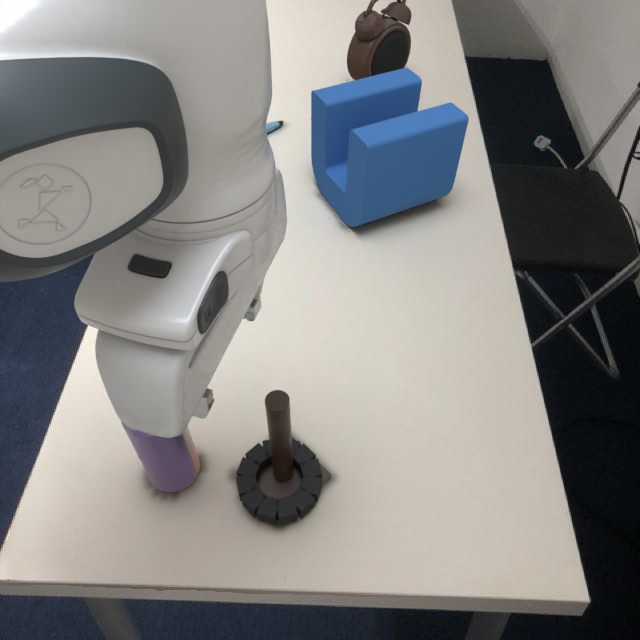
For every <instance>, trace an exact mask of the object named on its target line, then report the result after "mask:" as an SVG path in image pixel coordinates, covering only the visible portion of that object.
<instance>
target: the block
mask: <svg viewBox="0 0 640 640" xmlns="http://www.w3.org/2000/svg"><path fill="white" fill-rule="evenodd" d="M422 84H423V80H422V78H421V77H420V76H419V75H418V74H416V73H415V72H414V71H413V70H411V69H410V68H408V67H405V68H403V69H399V70H395V71H391V72H387V73H383V74H379V75H374V76H370V77H366V78H362V79H358V80H354V79H353V80H351V81H347V82H342V83H338V84H335V85H330V86H327V87H322V88H318V89H314V90H311V93H310V136H311V137H310V155H311V157H310V159H311V166H312V171H313V172H312V173H313V175H314V180H315V182H316V185H317V187H318V189H319V191H320V193H321V196H322V197H323V198H324V199H325V200H326V202H327V203H328V205H329V206H330V207H331V208H332V209H333V210H334V212H335V213H336V214H337V215H338V217H339V218H340V219H341V220H342V221H343V222H344V224H345V225H346V226H347V225H348V227H350V228H355V227H356V228H357V227H358V226H361V225H364V224H367V223H371V222H374V221H376V220H379V219H382V218H385V217H388V216H391V215H394V214H397V213H400V212H403V211H406V210H409V209H412V208H415V207H418V206H421V205H425V204H427V203H430V202H433V201H436V200H439V199H441V198H445V197H447V196H448V195H449V194H450V193H451V192H452V190H453V188H454V186H455V181H456V177H457V174H458V173H457V172H458V169H459V168H458V167H459V165H460V164H459V163H460V159H461V156H462V151H463V147H464V142H465V138H466V135H467V134H466V133H467V129H468V125H469V121H470V120H469V115H468V114H467V113H466V112H464V110H462V109H460V108H459V107H458V106H457V105H456V104H455V103H453V102H451V101H450V102H447V103H442V104H438V105H435V106H432V107H429V108H425V109H421V110H419V105H420V99H421V93H422V87H423V85H422Z"/></svg>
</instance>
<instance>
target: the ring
mask: <svg viewBox="0 0 640 640" xmlns="http://www.w3.org/2000/svg"><path fill="white" fill-rule="evenodd" d="M300 444H301V441H300V440H297V439H295V440H293V439H292V452H293V466H294V467H295V468H296V469H297V470H298V471H299V472H300V473H301V477H302V481H301V484H300V487H299V488H298V489H297V490H296V491H295V492H294V493H293V494H292V495H291V496H287V497H283V498H279V499H277V498H273V497H270V496H266V495H265V494H264V493H263V492H262V491H261V490H260V489H259V488H258V485H257V482H258V479H259V476H260V473H261V472H262V471H263V470H264V469H265V468H267V467H268V466H269V465H270V464H272V459H271V450H270V442H269V439H264V440H262V444H261V443H260V442H257V443H256V444H255V445H254V446H253V447H252V448H250V449H249V450H248V451H247V452H245V454H244V455H245V457H244V456H243V457H242V458H241V460H240V463H239V465H238V468H237V470H236V471H237V474H236V476H235V480H236V486H237V491H238V492H237V493H238V496H239V502H241V505H242V507H243V508H244V509H245V510H246V511H247V512H248V513H249V514H250V515H251V516H252V517H253V519H255V518H257V521H258V522H263V523H265V524H270V525H273V526H276V525H277V522H278V525H279V526H283V525H288V524H291V523H295V522H298V521H299V518H300V519H303V518H304V517H305V516H307V515H308V514H309V513H310V512H311V511H312V510H313V509H314V508H315V507H316V503H318V502H319V498H320V495H321V491H322V489H323V486H322V471H321V467H320V464H321V463H320V460H319V458H317V455H316V453H315V452H313V450H312V449H310V448H309V447H308V445H306V443H302V444H301V446H300ZM319 463H320V464H319ZM277 519H278V520H279V521H278V520H277Z"/></svg>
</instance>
